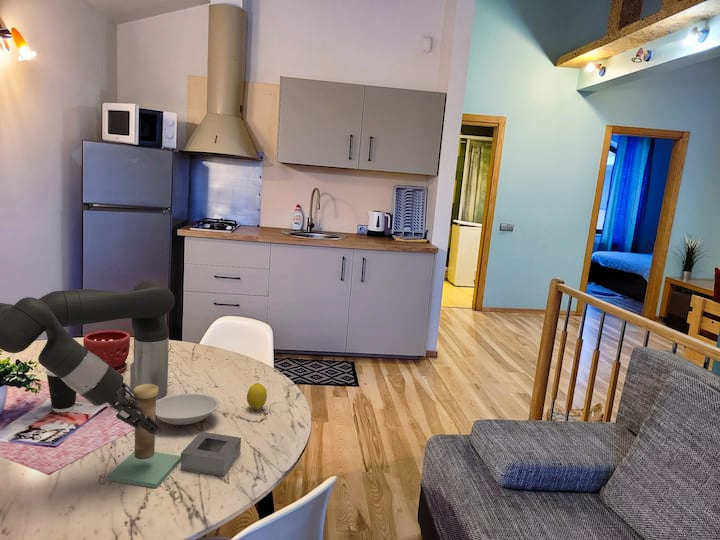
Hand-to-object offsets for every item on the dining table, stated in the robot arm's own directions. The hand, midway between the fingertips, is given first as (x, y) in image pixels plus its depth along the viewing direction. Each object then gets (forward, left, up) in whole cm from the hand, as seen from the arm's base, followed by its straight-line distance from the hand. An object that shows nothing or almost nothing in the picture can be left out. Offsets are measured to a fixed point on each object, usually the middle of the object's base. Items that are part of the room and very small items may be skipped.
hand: (155, 425), depth 109 cm
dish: (-3, +21, -11) cm, 24 cm away
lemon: (+12, +34, -11) cm, 38 cm away
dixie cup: (-36, +19, -11) cm, 43 cm away
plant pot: (-41, +45, -11) cm, 62 cm away
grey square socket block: (+11, +6, -10) cm, 16 cm away
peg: (-2, -1, -7) cm, 7 cm away
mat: (-1, -1, -10) cm, 11 cm away
